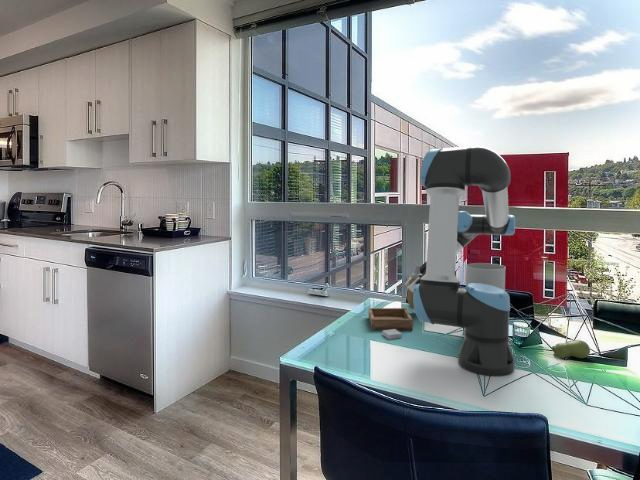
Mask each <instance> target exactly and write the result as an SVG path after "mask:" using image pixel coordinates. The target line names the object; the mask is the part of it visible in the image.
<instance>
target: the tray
mask: <svg viewBox="0 0 640 480" xmlns="http://www.w3.org/2000/svg"><path fill="white" fill-rule="evenodd" d="M368 320H369V324H370V328H371V331H382V330H390V329H396V330H397V331H413V330H414V329H413V328H414V326H413V325H414V324H413V322H414V320H413V317H412V316H411V314H410V313H409V311H408V309H407V308H406V307H404V308H403V307H401V308H400V307H397V308H396V307H392V308H390V307H384V308H383V307H382V308H380V307H375V308H374V307H370V308H369V307H368Z"/></svg>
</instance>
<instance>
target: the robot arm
mask: <svg viewBox="0 0 640 480" xmlns="http://www.w3.org/2000/svg"><path fill="white" fill-rule="evenodd" d="M511 178H512V177H511V170H510V167H509V164H507V162H506V161H505V159H504V158H503V157H502V156H501V155H500V154H499V153H498V152H496V151H495V150H492V149H491V148H488V147H485V146H479V145H474V146H465V147H463V146H462V147H461V146H460V147H459V146H458V147H440V148H436V149H435V148H434V149H429V150H428V151H427V152H426V153H425V154H424V157H423V159H422V163H421V167H420V185H421V186H422V187H424V188H425V193H426V194H427V195H428V196H429V213H428V214H429V215H428V228H427V229H428V233H427V249H426V261H424V263H423V264H422V265H420V266H419V269H420V274H422V275H419V277H418V278H417V279H416V280H415V281H414V282H413V283H412V284H411V285H410V286H409V280H410V279H412V276H411V277H410V278H409V279H408V280H407V281H406V282H405V283H404V285H405V286H406V287H407V290H408V289H409V290H410V291H411V292H412V293H413V303H414V309H413V310H414V314H415V317H416V318H417V319H418V320H419V321H420V322H422V323H426V324H430V325H441V326H448V327H449V326H450V327H456V328H463V329H464V335H465V337H464V339H463V342H462V344H461V347H460V349H459V352H458V358H457V359H458V361H457V362H458V364H459V366H461V367H462V368H463V369H465V370H467V371H469V372H472V373H475V374H479V375H484V376H492V377H493V376H495V377H496V376H499V377H500V376H506V375H509V374H511V373H513V372H514V371H515V359H514V355H513V352H512V349H511V346H510V343H509V335H510V330H509V328H510V327H509V326H510V311H511V305H510V304H511V303H510V301H511V300H510V299H511V298H510V294H509V293H508V292H507V291H506V290H505V291H504V290H503V289H501V288H498V287H495V286H491V285H487V284H481V283H477V284H476V283H470V284H468V285H467V286H466V285H465V287H461V286H460V284H461V281H460V280H459V279H458V278H457V276H456V266H457V264H456V263H457V262H456V261H457V255H458V254H459V253H461V252H463V251H462V250H463V249H464V248H465V247H466V246H468V244H470V243H471V241H473V240H474V239H475V238H476V237H477V236H479V235H480V236H481V235H485V236H486V235H489V236H503V237H504V236H513V235H515V231H516V217H515V215H512V214H509V212H510V211H509V210H510V209H509V195H508V194H509V192H508V187H509V185H510V183H511V180H512V179H511ZM469 186H470V187H471V186H478V187H479V189H480V190H481V192H482V193H481V194H482V198H483V205H484V206H483V207H484V211H485V212H484V213H485V214H470V213H469V212H468V211H466V210H460V211H459V209H460V198H461V196H462V195H464V194H465V192H466V187H469Z"/></svg>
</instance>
